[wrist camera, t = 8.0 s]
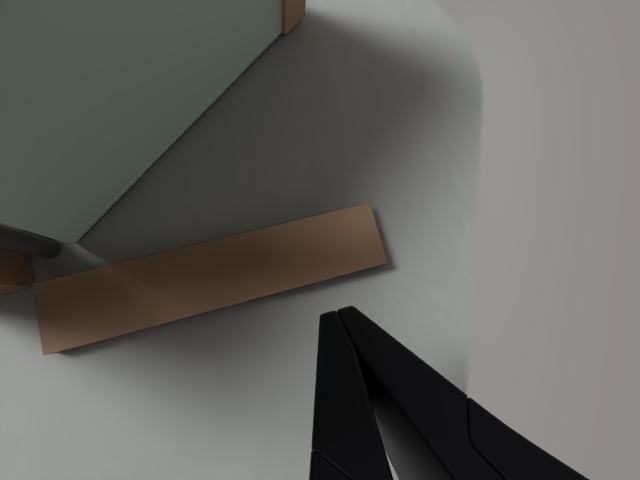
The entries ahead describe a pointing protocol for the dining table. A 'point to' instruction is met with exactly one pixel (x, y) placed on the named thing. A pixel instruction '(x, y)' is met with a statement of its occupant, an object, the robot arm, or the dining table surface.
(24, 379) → the dining table surface
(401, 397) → the robot arm
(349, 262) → the gate frame
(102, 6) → the board
